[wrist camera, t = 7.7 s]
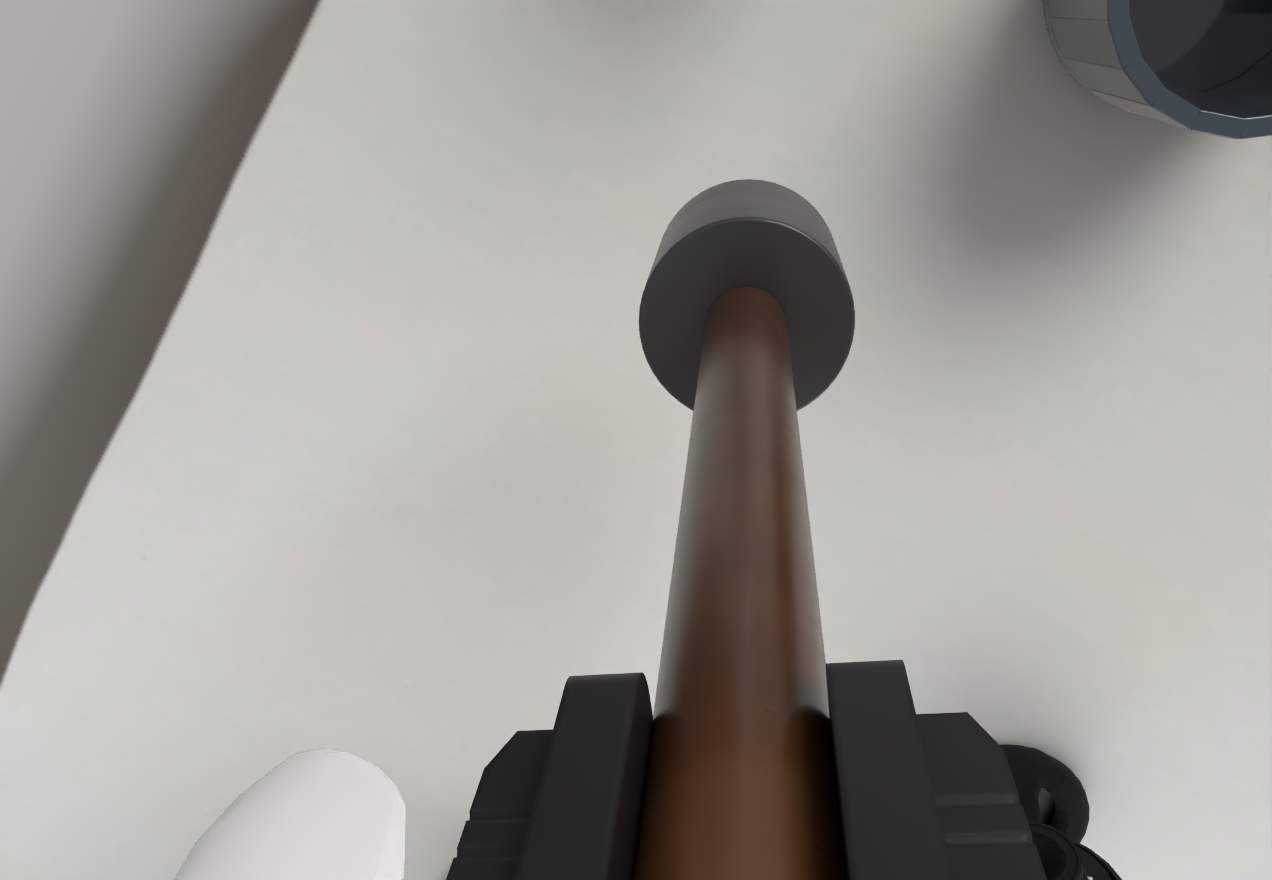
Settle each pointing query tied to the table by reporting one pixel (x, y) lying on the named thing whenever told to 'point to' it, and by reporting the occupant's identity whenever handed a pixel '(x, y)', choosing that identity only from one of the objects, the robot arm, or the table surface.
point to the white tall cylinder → (307, 825)
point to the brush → (743, 543)
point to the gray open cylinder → (1172, 59)
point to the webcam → (1056, 816)
